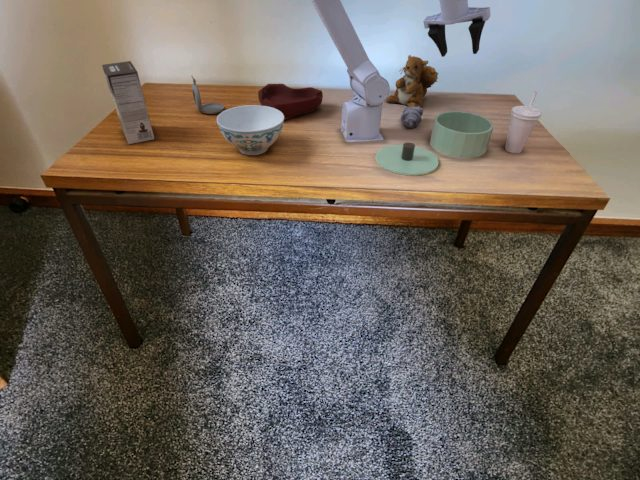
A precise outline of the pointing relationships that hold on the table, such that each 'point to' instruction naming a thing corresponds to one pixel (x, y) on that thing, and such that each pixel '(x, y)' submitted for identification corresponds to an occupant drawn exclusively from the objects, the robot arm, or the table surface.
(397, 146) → the lid
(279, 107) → the dark red heart-shaped dish
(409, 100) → the stuffed squirrel
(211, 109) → the pocket watch
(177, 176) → the table surface
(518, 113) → the smoothie
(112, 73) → the coffee box
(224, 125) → the chinaware
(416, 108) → the seashell
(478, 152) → the crock
